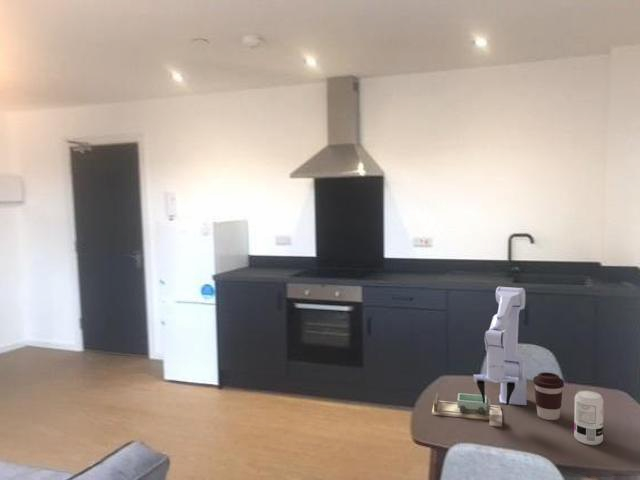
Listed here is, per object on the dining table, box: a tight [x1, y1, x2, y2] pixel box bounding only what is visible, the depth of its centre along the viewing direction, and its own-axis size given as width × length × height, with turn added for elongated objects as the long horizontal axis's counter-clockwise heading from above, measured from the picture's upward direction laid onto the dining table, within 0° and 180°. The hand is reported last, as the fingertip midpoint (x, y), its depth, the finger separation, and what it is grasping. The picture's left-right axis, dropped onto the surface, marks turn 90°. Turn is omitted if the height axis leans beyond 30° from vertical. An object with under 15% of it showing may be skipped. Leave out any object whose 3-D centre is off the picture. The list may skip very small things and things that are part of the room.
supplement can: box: [573, 389, 604, 446], centre depth 167 cm, size 8×8×15 cm
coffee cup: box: [532, 372, 565, 421], centre depth 185 cm, size 10×10×15 cm
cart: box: [457, 392, 491, 414], centre depth 191 cm, size 11×9×4 cm
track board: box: [431, 392, 502, 421], centre depth 192 cm, size 24×11×4 cm, turn 73°
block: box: [489, 410, 503, 427], centre depth 181 cm, size 4×4×4 cm
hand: (495, 402), depth 181 cm, fingers open, 7 cm apart
